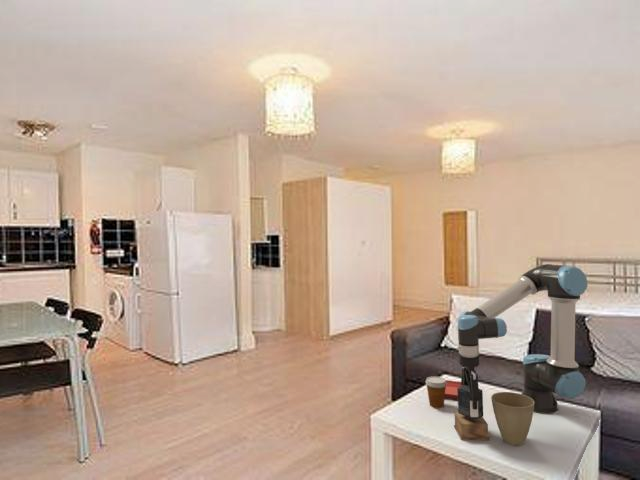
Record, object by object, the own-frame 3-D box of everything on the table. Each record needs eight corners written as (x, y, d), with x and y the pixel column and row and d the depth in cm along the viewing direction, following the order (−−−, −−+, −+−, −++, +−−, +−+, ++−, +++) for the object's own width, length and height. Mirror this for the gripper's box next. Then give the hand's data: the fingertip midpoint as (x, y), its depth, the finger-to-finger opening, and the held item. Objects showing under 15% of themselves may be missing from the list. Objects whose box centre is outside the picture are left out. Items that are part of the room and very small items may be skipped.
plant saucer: (475, 389, 204) (475, 383, 204) (473, 404, 187) (473, 397, 187) (439, 385, 211) (438, 379, 211) (434, 398, 195) (433, 391, 195)
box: (483, 416, 158) (482, 389, 158) (474, 420, 155) (473, 393, 154) (466, 409, 164) (465, 383, 164) (457, 413, 161) (456, 387, 161)
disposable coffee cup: (424, 408, 183) (424, 382, 183) (427, 400, 192) (426, 375, 192) (446, 411, 180) (445, 384, 180) (448, 402, 189) (447, 377, 189)
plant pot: (545, 446, 148) (543, 403, 148) (512, 454, 144) (510, 410, 144) (514, 428, 162) (513, 389, 162) (483, 434, 158) (482, 394, 158)
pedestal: (480, 426, 164) (480, 412, 164) (489, 440, 154) (488, 424, 154) (454, 426, 165) (453, 412, 165) (461, 440, 155) (460, 424, 155)
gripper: (452, 347, 170) (453, 399, 171) (467, 363, 148) (469, 424, 149) (470, 346, 170) (471, 399, 170) (487, 363, 148) (489, 424, 148)
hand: (470, 410), depth 159 cm, fingers closed on box, 9 cm apart
